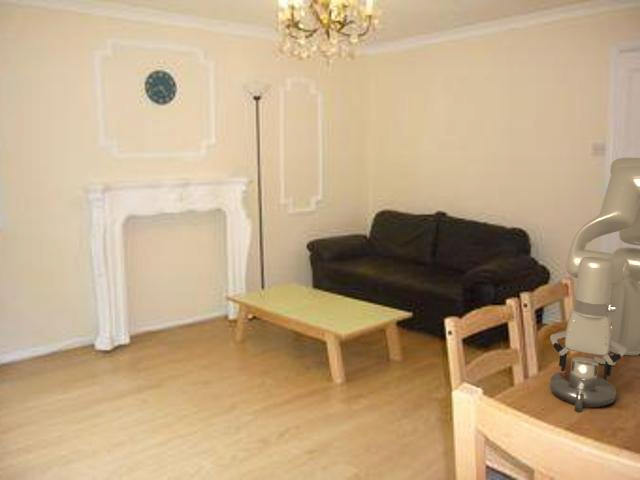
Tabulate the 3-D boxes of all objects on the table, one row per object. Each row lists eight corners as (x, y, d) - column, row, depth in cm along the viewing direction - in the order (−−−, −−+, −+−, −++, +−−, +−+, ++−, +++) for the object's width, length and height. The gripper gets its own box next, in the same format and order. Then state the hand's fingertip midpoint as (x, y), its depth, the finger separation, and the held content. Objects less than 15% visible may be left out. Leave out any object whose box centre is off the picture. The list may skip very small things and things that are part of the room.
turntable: (537, 382, 152) (539, 357, 150) (584, 376, 156) (586, 351, 155) (579, 409, 138) (582, 381, 136) (629, 401, 142) (632, 374, 141)
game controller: (611, 361, 171) (613, 353, 171) (626, 378, 160) (627, 369, 160) (591, 360, 172) (592, 351, 172) (604, 376, 161) (606, 367, 160)
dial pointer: (575, 405, 142) (577, 389, 141) (582, 407, 141) (584, 390, 140) (574, 411, 139) (576, 394, 138) (581, 412, 138) (583, 395, 138)
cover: (571, 377, 151) (574, 355, 150) (597, 382, 148) (599, 360, 147) (568, 385, 146) (570, 362, 145) (594, 391, 143) (597, 368, 142)
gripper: (631, 309, 142) (623, 375, 145) (555, 298, 150) (549, 361, 153) (630, 317, 136) (622, 386, 139) (551, 305, 144) (545, 371, 147)
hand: (583, 373), depth 146 cm, fingers open, 9 cm apart
